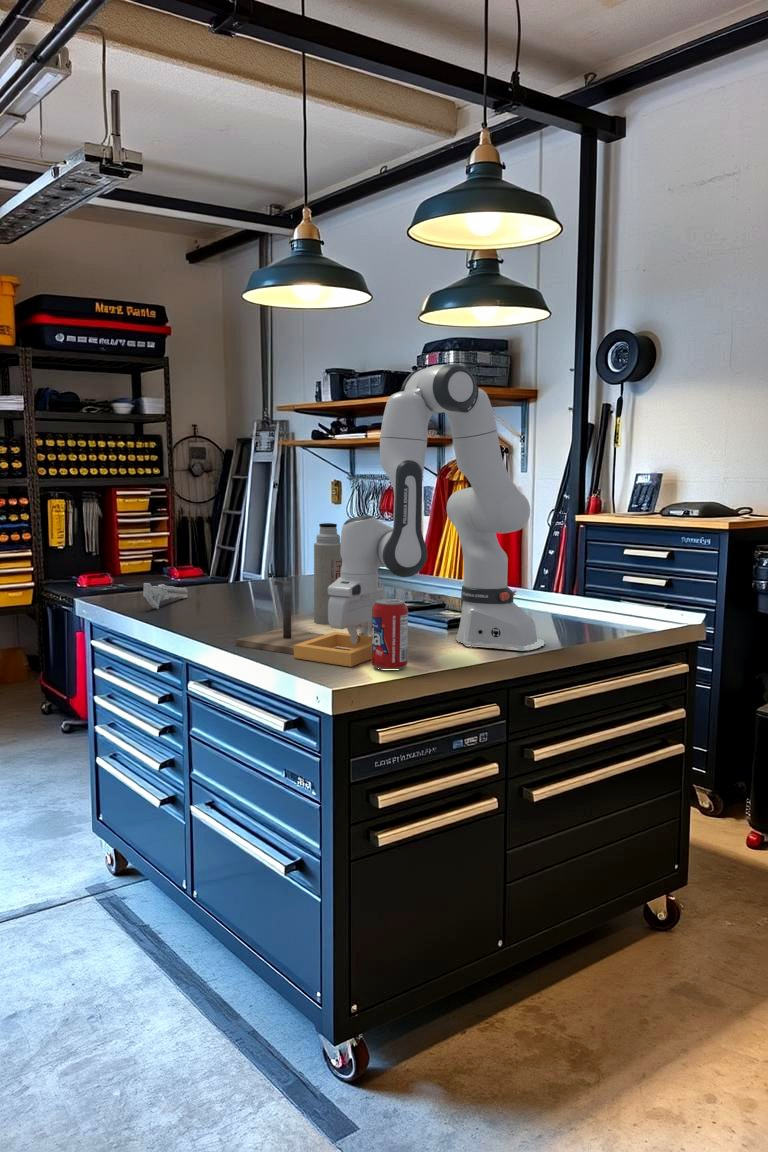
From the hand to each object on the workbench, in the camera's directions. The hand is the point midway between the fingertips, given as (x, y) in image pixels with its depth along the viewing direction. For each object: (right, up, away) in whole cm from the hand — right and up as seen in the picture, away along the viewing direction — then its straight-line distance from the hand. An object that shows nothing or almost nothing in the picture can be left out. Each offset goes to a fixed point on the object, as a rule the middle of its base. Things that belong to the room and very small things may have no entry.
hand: (359, 641), depth 212 cm
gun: (-63, +6, +68) cm, 93 cm away
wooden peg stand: (-18, -1, +9) cm, 20 cm away
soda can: (+7, -5, -16) cm, 19 cm away
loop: (-4, -3, -6) cm, 7 cm away
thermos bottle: (-10, +2, +40) cm, 41 cm away
